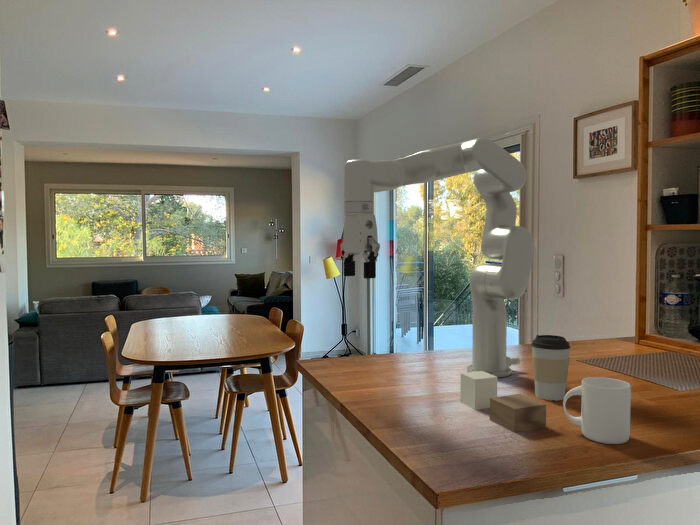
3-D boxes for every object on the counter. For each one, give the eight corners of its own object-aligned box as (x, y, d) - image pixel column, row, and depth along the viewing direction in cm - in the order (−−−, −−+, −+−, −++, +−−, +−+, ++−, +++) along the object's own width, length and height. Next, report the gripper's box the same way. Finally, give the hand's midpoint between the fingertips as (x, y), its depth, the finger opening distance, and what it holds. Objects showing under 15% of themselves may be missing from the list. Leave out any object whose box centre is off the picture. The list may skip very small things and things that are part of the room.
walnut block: (519, 416, 116) (520, 393, 116) (545, 428, 109) (546, 404, 108) (489, 421, 113) (489, 398, 113) (514, 433, 106) (514, 408, 106)
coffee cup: (568, 393, 133) (569, 333, 132) (571, 403, 124) (572, 340, 124) (530, 389, 136) (531, 331, 135) (530, 399, 127) (531, 337, 127)
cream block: (481, 399, 128) (482, 370, 128) (497, 406, 122) (497, 376, 122) (460, 402, 126) (460, 373, 125) (474, 409, 120) (475, 379, 120)
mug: (565, 423, 111) (566, 373, 110) (630, 433, 105) (631, 380, 105) (559, 437, 103) (560, 382, 103) (629, 448, 97) (630, 391, 97)
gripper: (390, 208, 128) (391, 278, 129) (354, 211, 143) (354, 274, 144) (364, 207, 124) (365, 279, 125) (329, 211, 139) (330, 275, 140)
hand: (359, 277), depth 135 cm, fingers open, 9 cm apart
